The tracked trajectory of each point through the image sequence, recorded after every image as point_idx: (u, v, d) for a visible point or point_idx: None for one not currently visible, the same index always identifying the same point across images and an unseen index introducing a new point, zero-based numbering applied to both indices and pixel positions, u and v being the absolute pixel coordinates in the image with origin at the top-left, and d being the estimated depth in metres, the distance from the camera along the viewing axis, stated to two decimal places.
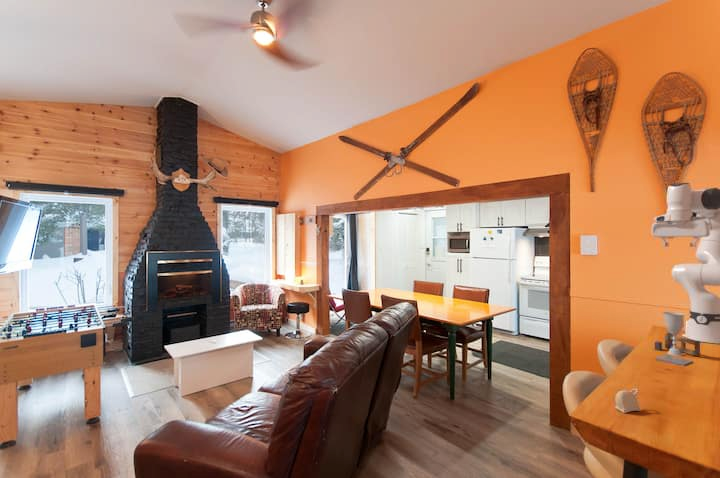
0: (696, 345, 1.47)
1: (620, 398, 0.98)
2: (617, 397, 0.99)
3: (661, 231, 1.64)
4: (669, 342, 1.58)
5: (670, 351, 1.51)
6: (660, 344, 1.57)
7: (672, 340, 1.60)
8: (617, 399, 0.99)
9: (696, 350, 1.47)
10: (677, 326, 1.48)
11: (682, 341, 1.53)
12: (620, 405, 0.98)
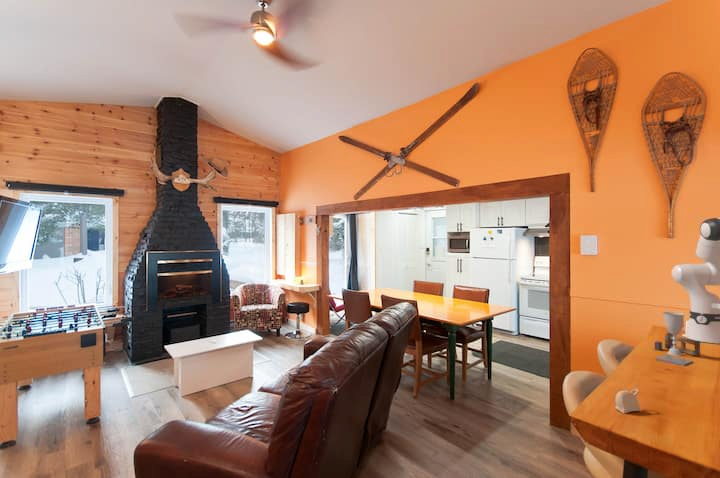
0: (696, 345, 1.47)
1: (620, 399, 0.98)
2: (617, 397, 0.99)
3: None
4: (669, 342, 1.58)
5: (670, 351, 1.51)
6: (660, 344, 1.57)
7: (672, 340, 1.60)
8: (617, 399, 0.99)
9: (696, 350, 1.47)
10: (677, 326, 1.48)
11: (682, 341, 1.53)
12: (620, 405, 0.98)
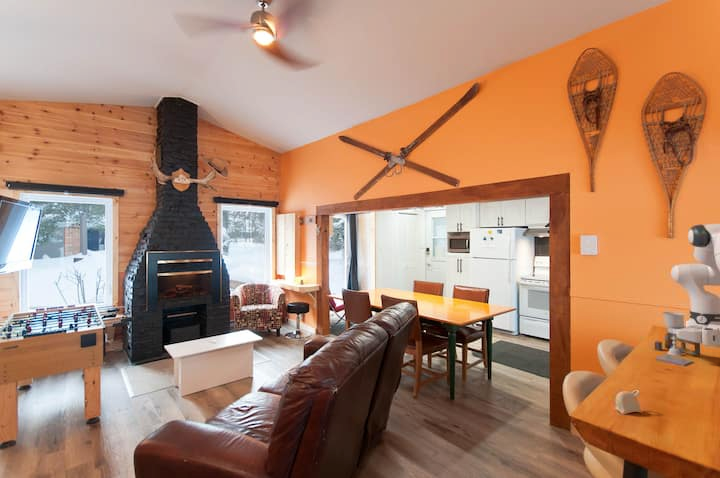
0: (696, 345, 1.47)
1: (620, 399, 0.98)
2: (617, 398, 0.98)
3: None
4: (669, 342, 1.58)
5: (670, 351, 1.51)
6: (660, 344, 1.57)
7: (672, 340, 1.60)
8: (617, 400, 0.98)
9: (696, 350, 1.47)
10: (677, 326, 1.48)
11: (682, 341, 1.53)
12: (620, 406, 0.97)
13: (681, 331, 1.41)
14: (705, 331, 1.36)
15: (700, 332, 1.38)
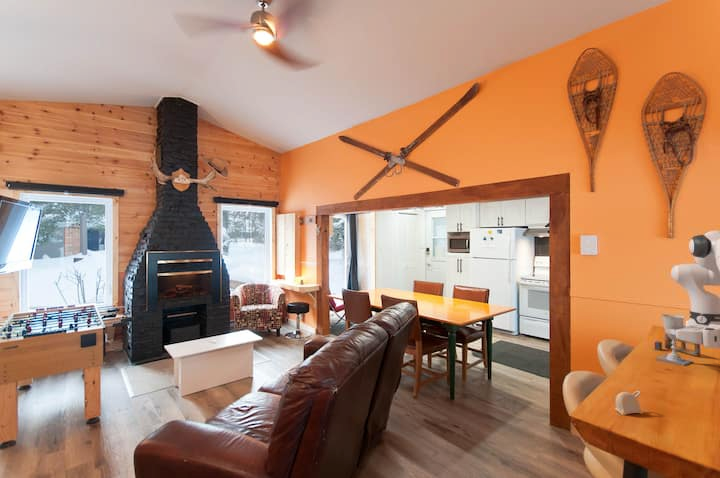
0: (696, 345, 1.47)
1: (619, 400, 0.97)
2: (617, 398, 0.98)
3: None
4: (669, 342, 1.58)
5: (669, 356, 1.42)
6: (660, 344, 1.57)
7: None
8: (617, 400, 0.98)
9: (696, 350, 1.47)
10: (676, 329, 1.39)
11: (682, 341, 1.53)
12: (620, 407, 0.97)
13: (680, 331, 1.32)
14: (706, 331, 1.27)
15: (701, 332, 1.29)
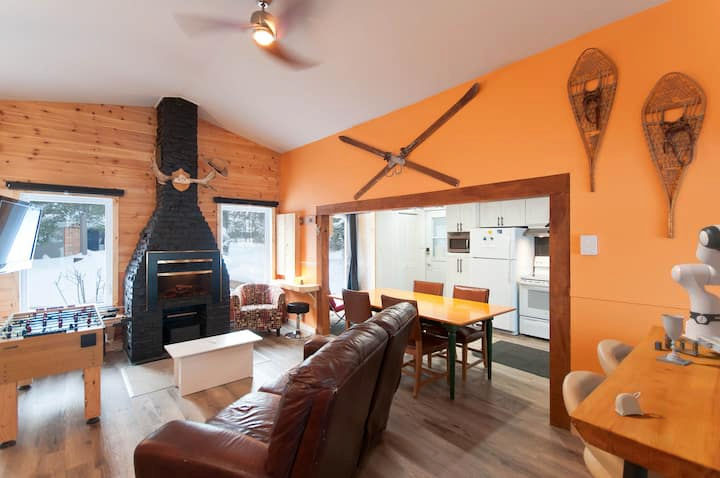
0: (694, 345, 1.47)
1: (619, 401, 0.97)
2: (617, 399, 0.97)
3: None
4: (669, 342, 1.58)
5: (669, 356, 1.42)
6: (660, 344, 1.57)
7: None
8: (617, 401, 0.97)
9: (694, 350, 1.47)
10: (676, 329, 1.40)
11: (681, 341, 1.52)
12: (619, 407, 0.96)
13: None
14: None
15: None
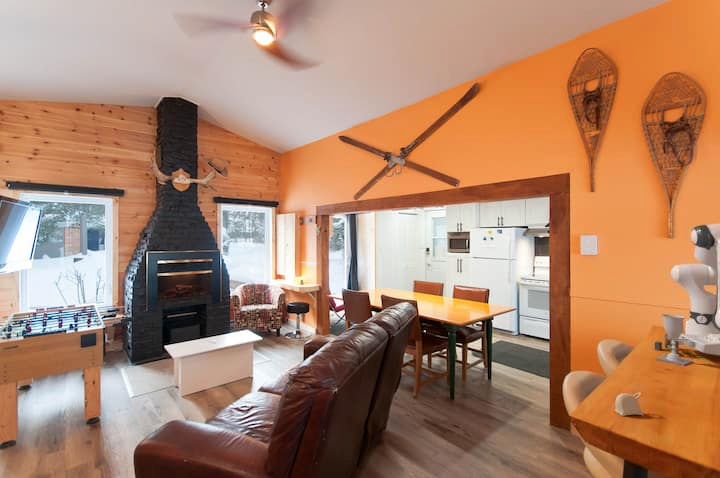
0: None
1: (619, 401, 0.96)
2: (617, 399, 0.97)
3: None
4: (667, 342, 1.58)
5: (669, 356, 1.42)
6: (660, 344, 1.57)
7: None
8: (616, 401, 0.97)
9: None
10: (676, 329, 1.40)
11: (670, 340, 1.54)
12: (619, 408, 0.96)
13: (707, 345, 1.40)
14: None
15: None
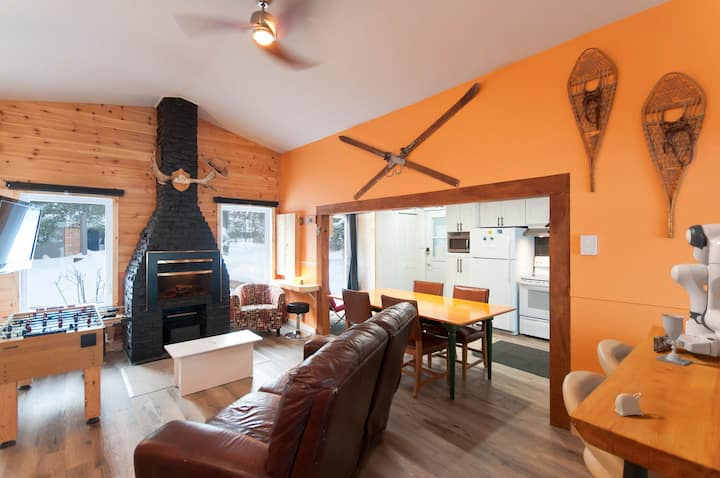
0: None
1: (619, 401, 0.96)
2: (617, 400, 0.97)
3: None
4: None
5: (669, 356, 1.42)
6: None
7: None
8: (616, 402, 0.97)
9: None
10: (676, 329, 1.40)
11: None
12: (619, 408, 0.96)
13: (694, 344, 1.42)
14: (714, 342, 1.40)
15: (709, 343, 1.41)
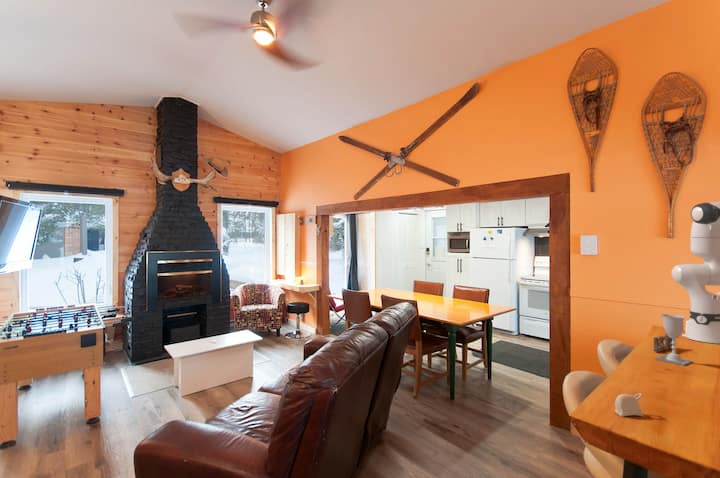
0: None
1: (618, 401, 0.96)
2: (616, 400, 0.97)
3: None
4: (666, 341, 1.59)
5: (669, 356, 1.42)
6: None
7: None
8: (616, 402, 0.97)
9: None
10: (676, 329, 1.40)
11: None
12: (619, 408, 0.96)
13: None
14: None
15: None
